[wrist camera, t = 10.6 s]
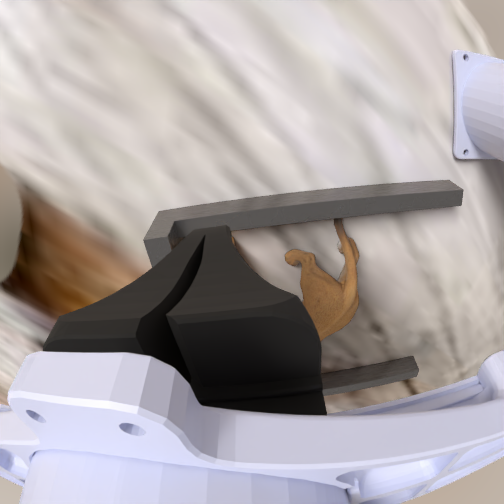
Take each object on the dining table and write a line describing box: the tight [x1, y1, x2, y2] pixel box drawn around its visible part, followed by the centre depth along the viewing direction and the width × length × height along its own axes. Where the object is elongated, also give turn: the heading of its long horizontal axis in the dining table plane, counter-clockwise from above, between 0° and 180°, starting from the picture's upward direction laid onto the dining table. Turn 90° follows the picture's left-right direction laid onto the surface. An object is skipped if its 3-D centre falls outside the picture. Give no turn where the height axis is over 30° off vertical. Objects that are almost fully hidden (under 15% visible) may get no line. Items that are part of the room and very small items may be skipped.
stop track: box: [143, 180, 463, 396], centre depth 24 cm, size 21×20×4 cm
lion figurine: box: [285, 218, 359, 342], centre depth 21 cm, size 15×5×9 cm, turn 162°
